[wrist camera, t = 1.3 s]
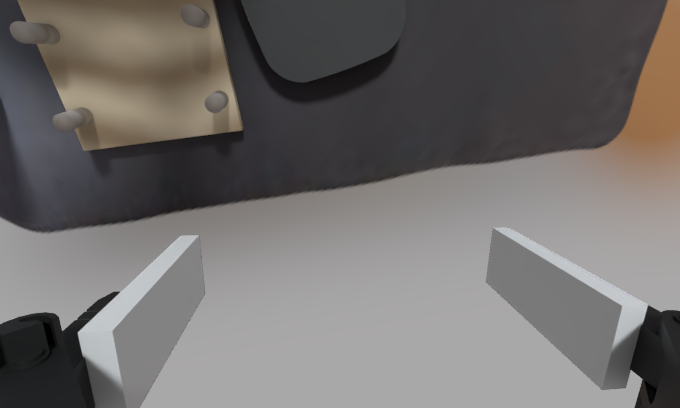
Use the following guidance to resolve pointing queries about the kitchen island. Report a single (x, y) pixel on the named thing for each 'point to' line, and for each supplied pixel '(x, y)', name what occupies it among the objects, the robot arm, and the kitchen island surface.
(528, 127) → the kitchen island surface
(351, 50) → the media streaming box
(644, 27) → the kitchen island surface
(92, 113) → the peg board
